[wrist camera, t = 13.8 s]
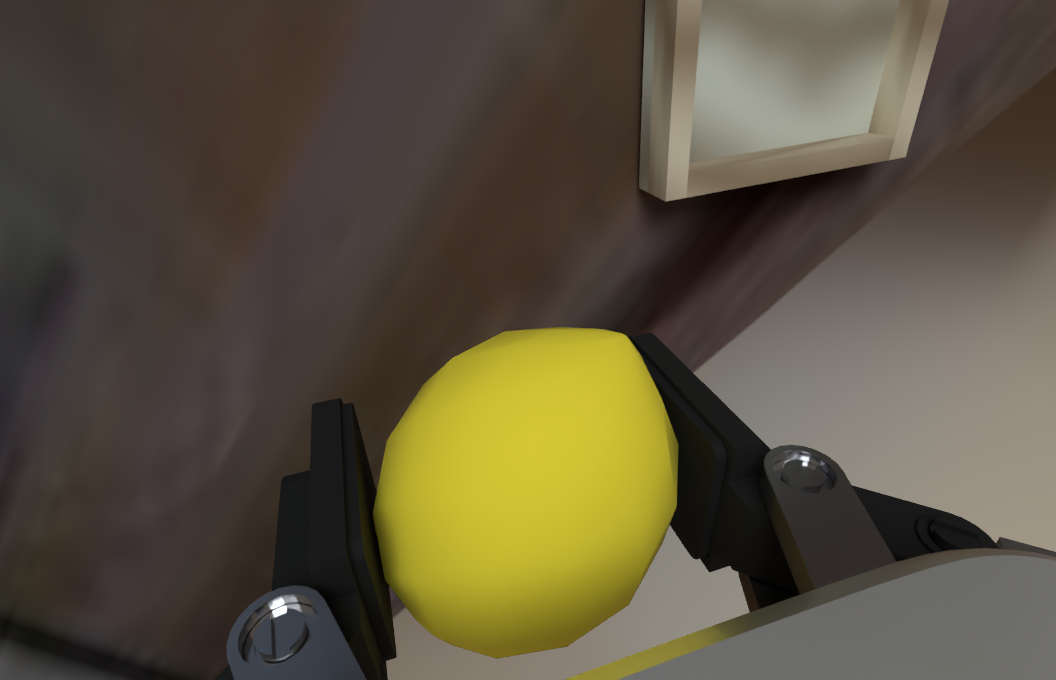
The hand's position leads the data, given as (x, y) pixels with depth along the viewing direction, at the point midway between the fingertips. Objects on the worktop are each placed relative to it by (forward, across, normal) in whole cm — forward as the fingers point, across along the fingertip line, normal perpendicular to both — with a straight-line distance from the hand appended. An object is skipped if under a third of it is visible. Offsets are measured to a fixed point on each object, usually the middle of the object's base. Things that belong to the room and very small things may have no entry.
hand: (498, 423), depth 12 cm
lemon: (+1, 0, 0) cm, 1 cm away
